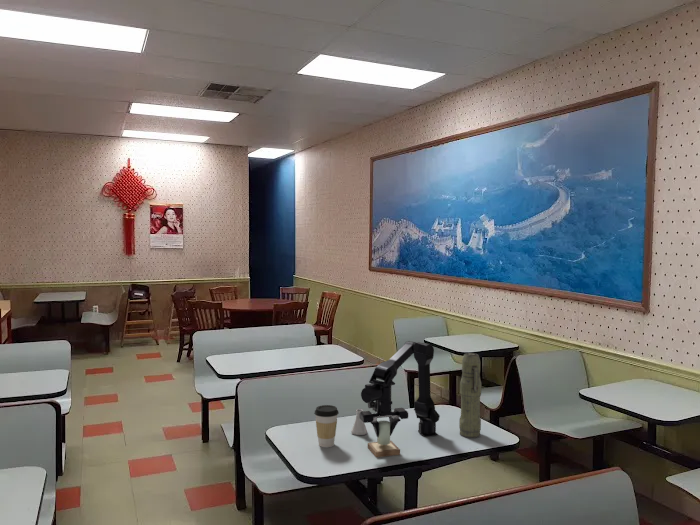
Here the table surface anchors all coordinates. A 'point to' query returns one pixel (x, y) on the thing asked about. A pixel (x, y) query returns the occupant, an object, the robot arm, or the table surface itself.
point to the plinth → (383, 449)
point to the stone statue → (470, 396)
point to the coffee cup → (326, 424)
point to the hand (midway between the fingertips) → (383, 436)
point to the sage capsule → (384, 433)
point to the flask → (359, 425)
